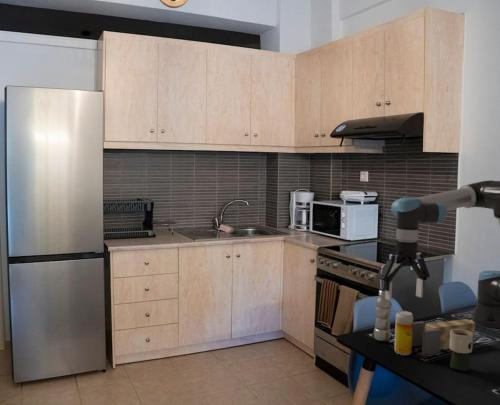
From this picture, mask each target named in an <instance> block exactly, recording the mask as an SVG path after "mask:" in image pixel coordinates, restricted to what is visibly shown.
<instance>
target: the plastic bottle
mask: <svg viewBox="0 0 500 405" xmlns="http://www.w3.org/2000/svg"><path fill="white" fill-rule="evenodd" d="M385 291H386V290H384V288H383V289H382V288H381V289H380V288H379V290H378V297H377V299H376V300H375V301H374V308H375V324H374V329H373V337H374V339H375V340H377V341H380V342H387V341H389V340H390V339H391V336H392V334H391V325H390V324H391V321H390V319H391V311H392V306H393V305H392V300H388V299H385Z"/></svg>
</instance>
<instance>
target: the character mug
mask: <svg viewBox="0 0 500 405" xmlns="http://www.w3.org/2000/svg"><path fill="white" fill-rule="evenodd" d="M473 346H474V345H473V333H472V332H470V331H467V330H464V329H452V330H451V331H450V345H449V347H450V349H449V350H450V351H451V357H450V362H449V367H450V368H451V369H453V370H458V372H459V371H462V372H468V371H470V357H469V356H470V355H469V354H470V353H472V352H473Z"/></svg>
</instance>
